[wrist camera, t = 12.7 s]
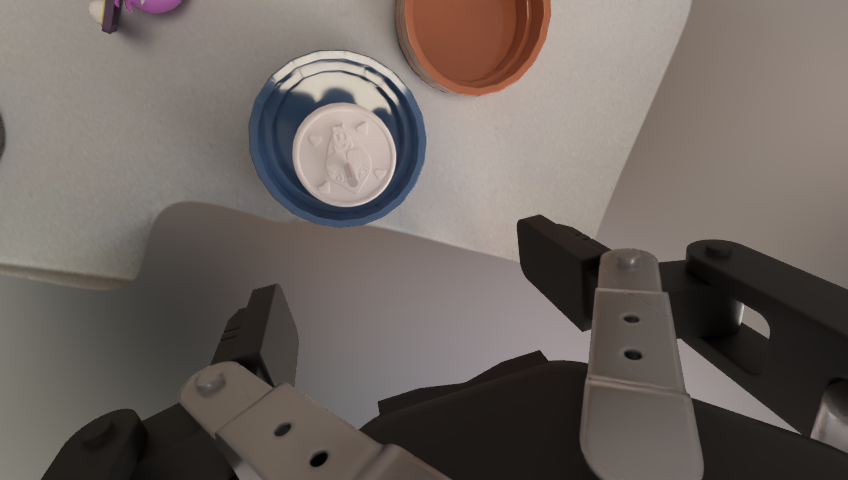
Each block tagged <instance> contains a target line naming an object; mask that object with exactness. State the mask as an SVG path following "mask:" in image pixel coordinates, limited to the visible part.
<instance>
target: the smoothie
mask: <svg viewBox="0 0 848 480" xmlns="http://www.w3.org/2000/svg"><path fill="white" fill-rule="evenodd" d="M292 156H293V163H294V168H295V171H296V174H297V176H298V178H299V180H300V181H301V183H302V184H303V186H304V187H305V188H306V189H307V190H308V191H309V192H310V193H311V194H312V195H313V196H315V197H316V198H317V199H319V200H321V201H323V202H325V203H327V204H330V205H334V206H340V207H352V206H358V205H362V204H365V203H367V202H369V201H371V200H373V199H374V198H376V197H377V196H378V195H379V194H381V193H382V192H383V190H384V189H385V188H386V187H387V185H388V184H389V182H390V180H391V178H392V176H393V173H394V170H395V165H396V149H395V145H394V141H393V138H392V136H391V134H390V132H389V130H388V129H387V127H386V126H385V124H384V123H383V121H382V120H381V119H380V118H379V117H377V116H376V115H375V114H374V113H373V112H372V111H370V110H368V109H366V108H364V107H362V106H360V105H356V104H351V103H345V102H342V103H331V104H328V105H325V106H323V107H320V108H318V109H316V110H315V111H314V112H312V113H311V114H310V115H308V116H307V117H306V118H305V119H304V121H303V122H302V123H301V125H300V126H299V128H298V130H297V132H296V135H295V138H294V141H293V152H292Z"/></svg>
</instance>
